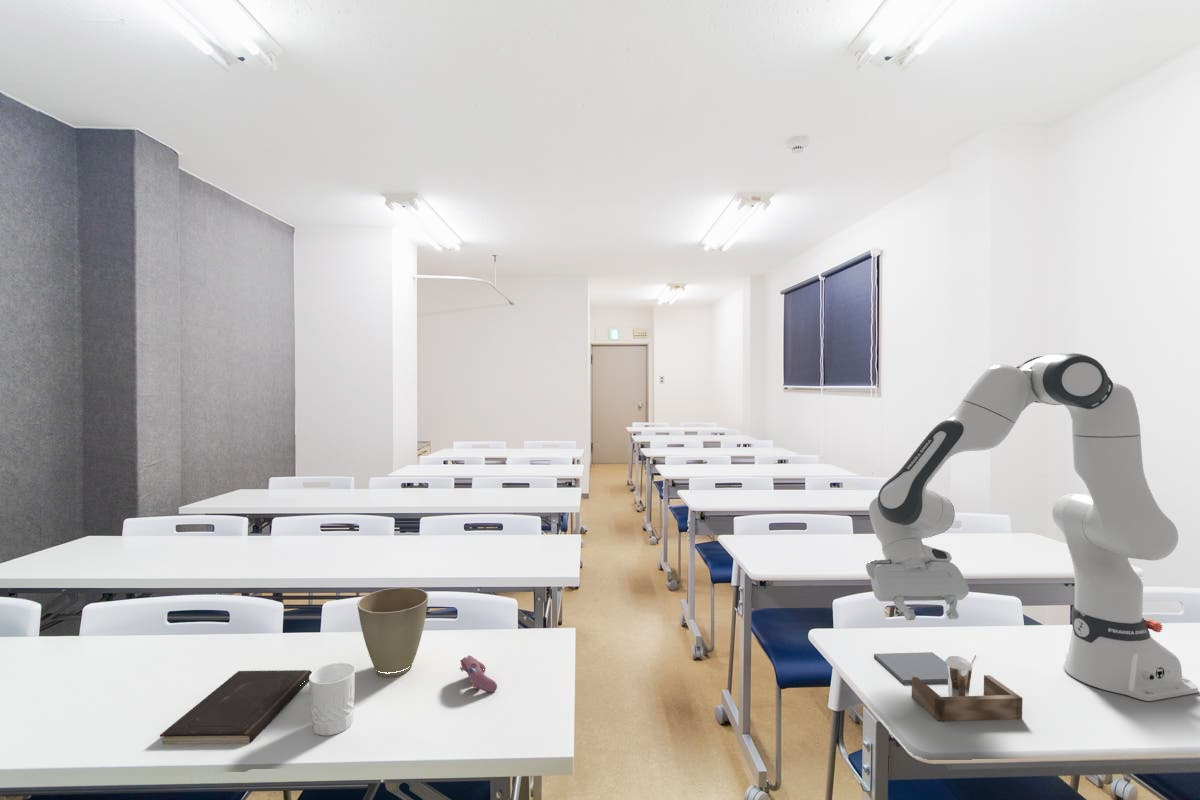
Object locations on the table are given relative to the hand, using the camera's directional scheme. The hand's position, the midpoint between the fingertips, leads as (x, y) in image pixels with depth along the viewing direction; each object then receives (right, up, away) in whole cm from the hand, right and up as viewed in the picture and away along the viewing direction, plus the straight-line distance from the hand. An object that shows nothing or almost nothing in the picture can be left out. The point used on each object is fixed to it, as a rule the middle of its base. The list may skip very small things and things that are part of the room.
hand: (932, 618), depth 125 cm
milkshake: (+1, -14, -9) cm, 16 cm away
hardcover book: (-142, -15, -10) cm, 143 cm away
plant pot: (-117, -14, +6) cm, 118 cm away
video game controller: (-97, -14, -1) cm, 98 cm away
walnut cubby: (+1, -14, -10) cm, 17 cm away
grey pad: (0, -13, +5) cm, 14 cm away
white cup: (-121, -14, -16) cm, 123 cm away
